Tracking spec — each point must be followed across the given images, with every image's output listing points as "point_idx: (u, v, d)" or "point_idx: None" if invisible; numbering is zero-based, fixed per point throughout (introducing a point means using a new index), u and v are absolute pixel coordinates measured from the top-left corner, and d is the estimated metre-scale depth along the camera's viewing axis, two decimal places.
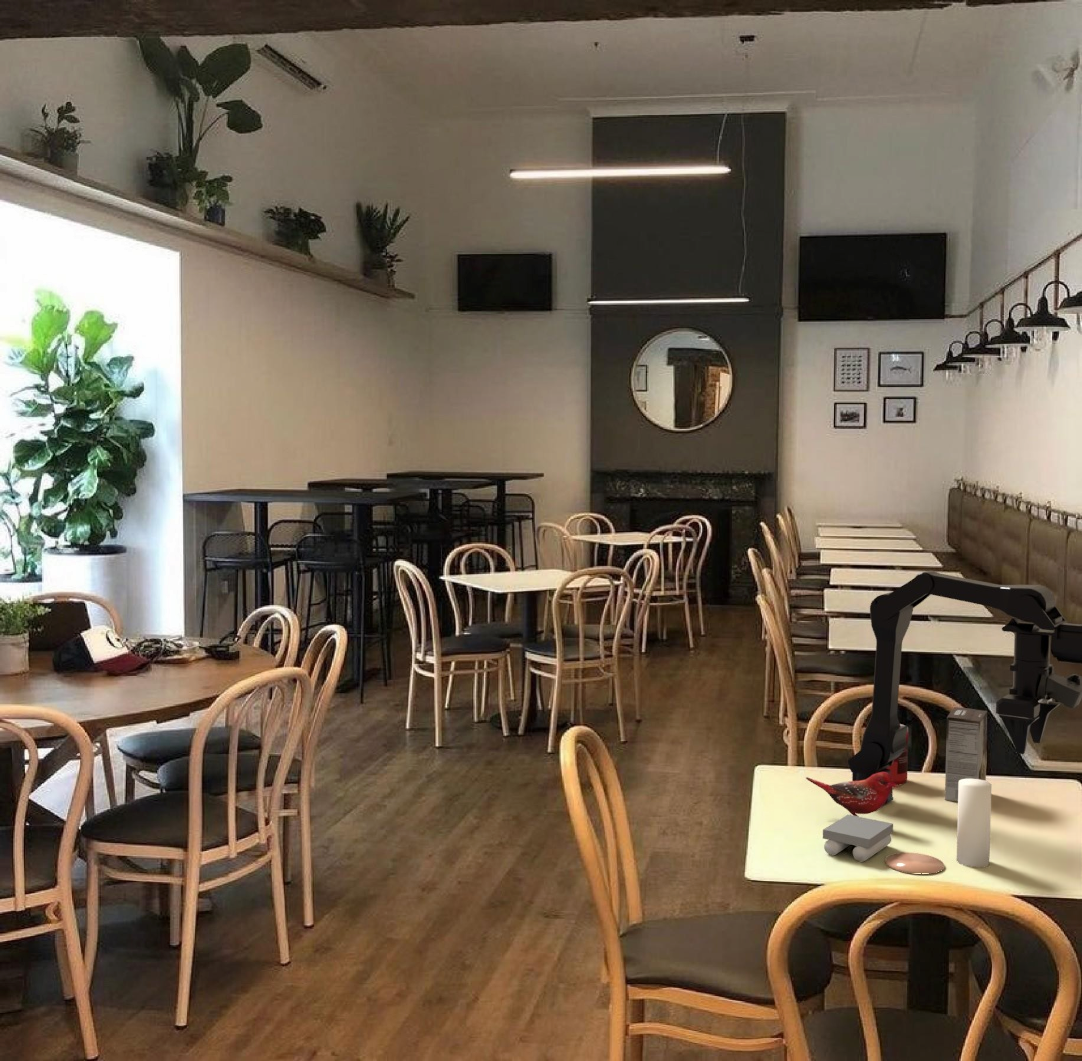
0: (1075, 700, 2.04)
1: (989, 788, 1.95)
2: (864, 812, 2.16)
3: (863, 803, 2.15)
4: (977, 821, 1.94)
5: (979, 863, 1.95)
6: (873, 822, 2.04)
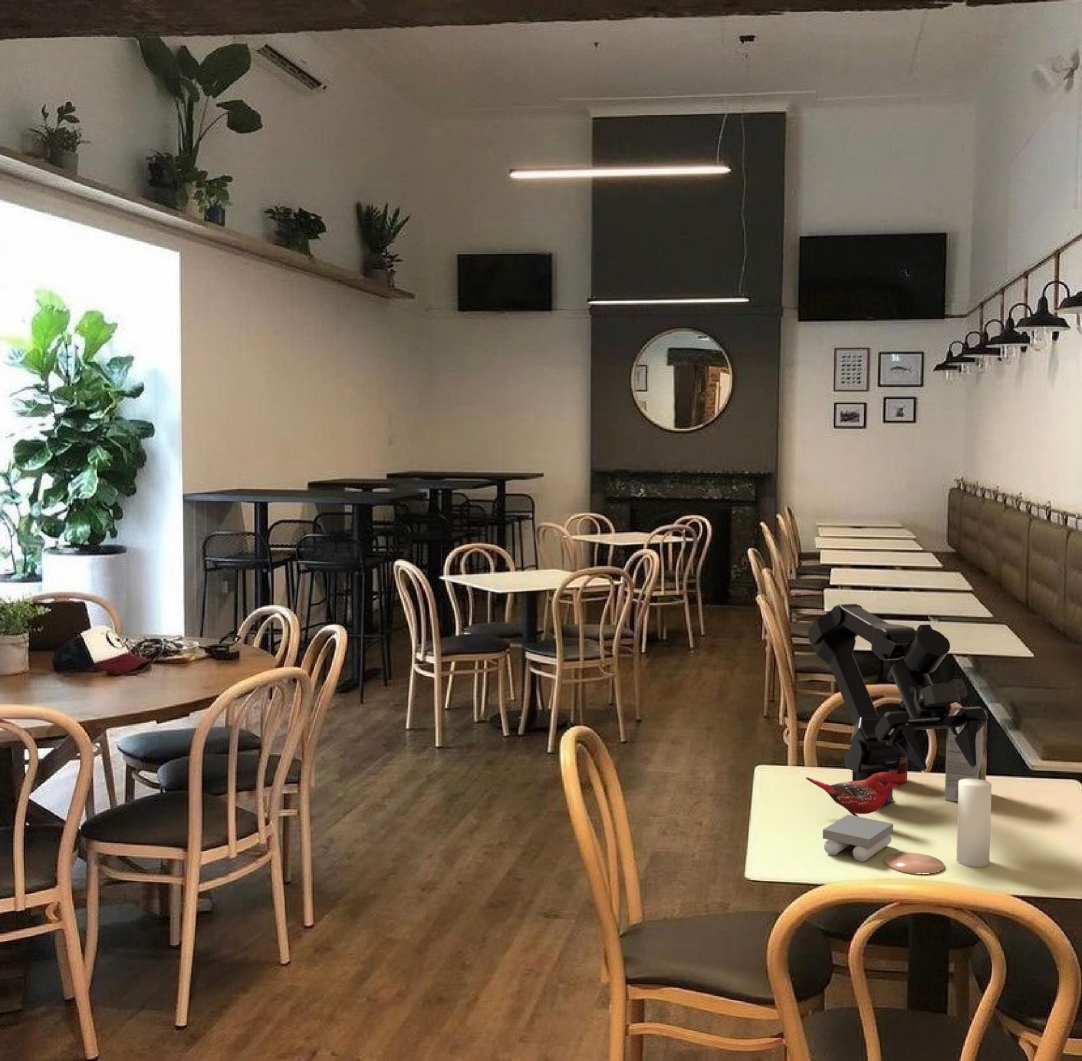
0: (936, 693, 2.03)
1: (989, 788, 1.95)
2: (864, 812, 2.16)
3: (863, 803, 2.15)
4: (977, 821, 1.94)
5: (979, 863, 1.95)
6: (873, 822, 2.04)
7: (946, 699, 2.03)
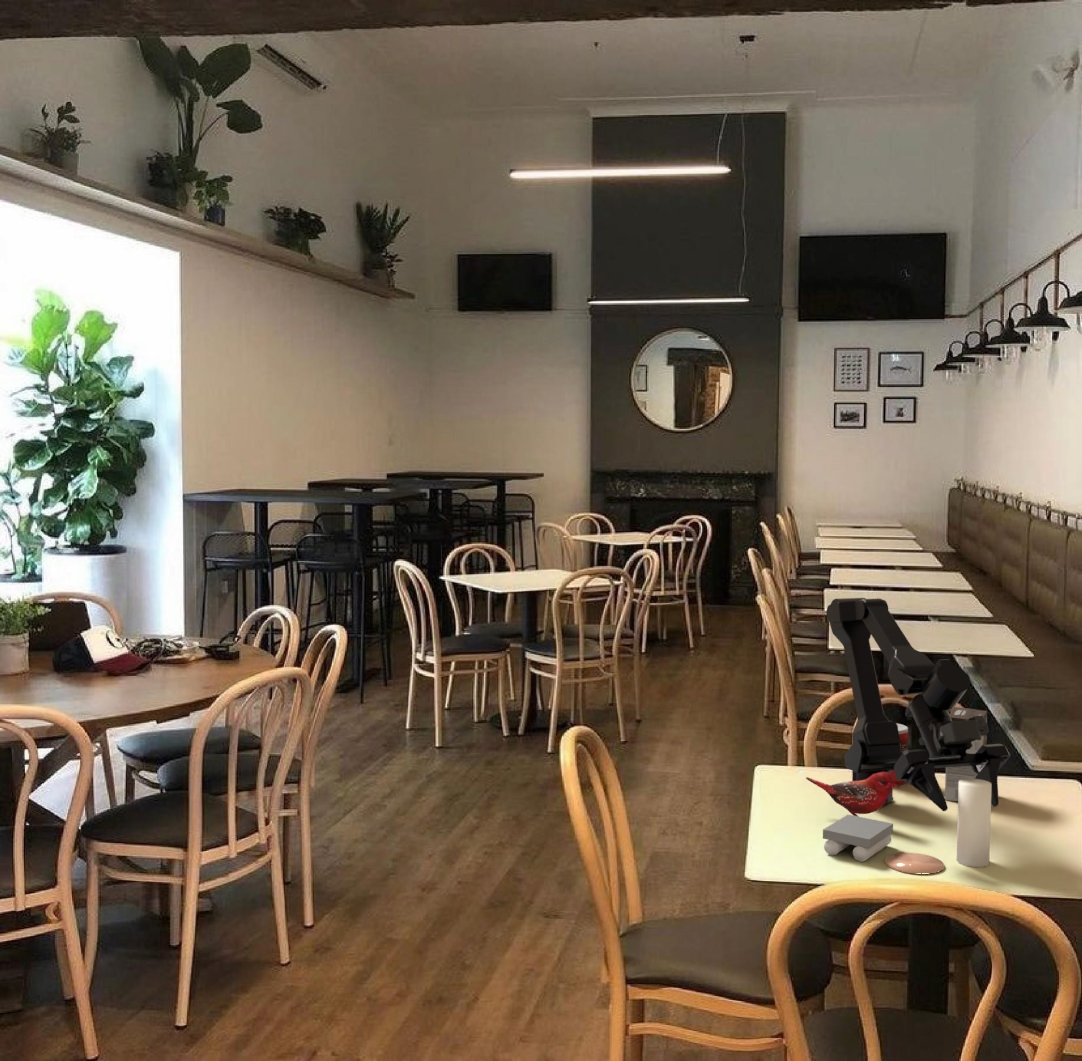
0: (957, 731, 1.97)
1: (989, 788, 1.95)
2: (864, 812, 2.16)
3: (863, 803, 2.15)
4: (977, 821, 1.94)
5: (979, 863, 1.95)
6: (873, 822, 2.04)
7: (967, 737, 1.97)
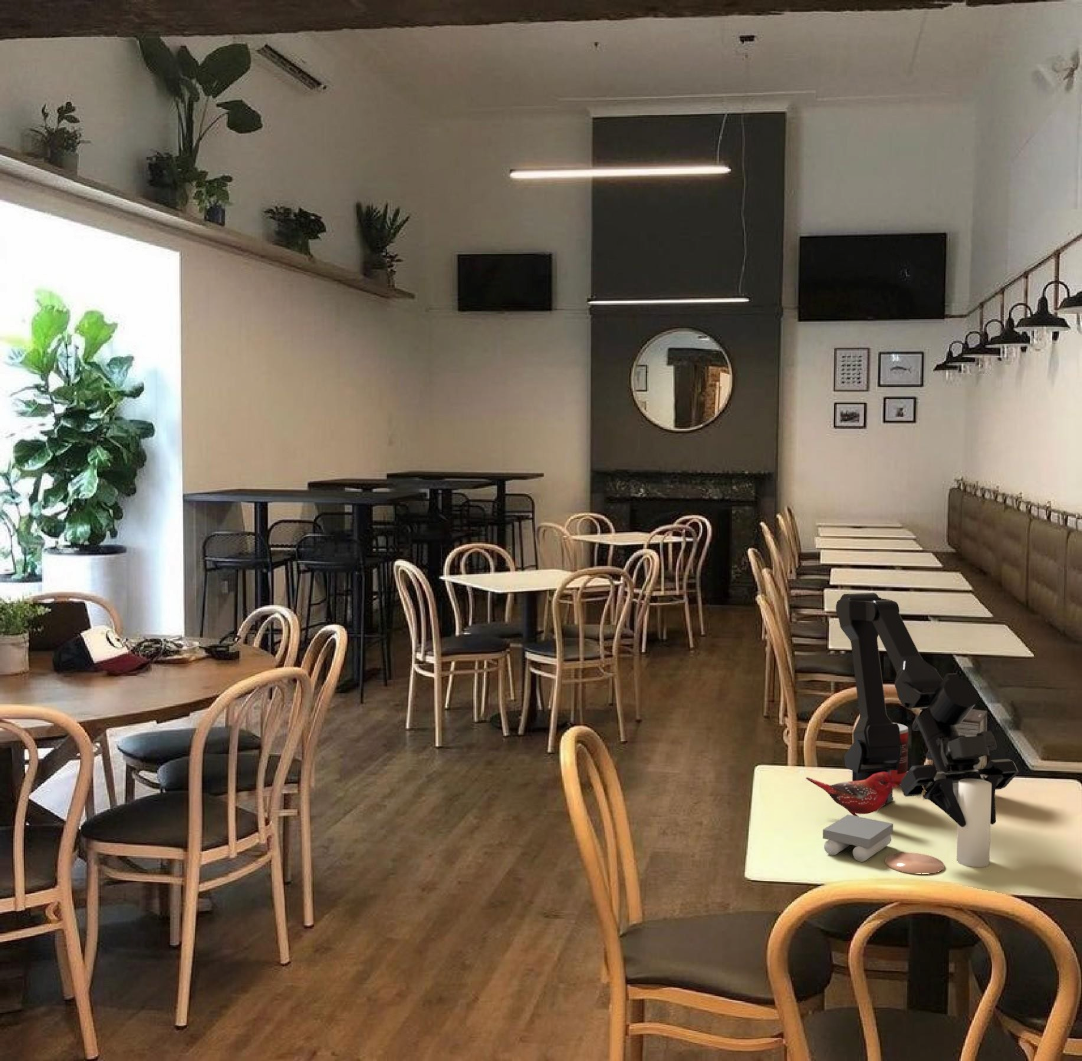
0: (965, 747, 1.95)
1: (989, 788, 1.95)
2: (864, 812, 2.16)
3: (863, 803, 2.15)
4: (978, 821, 1.94)
5: (979, 863, 1.95)
6: (873, 822, 2.04)
7: (975, 753, 1.95)
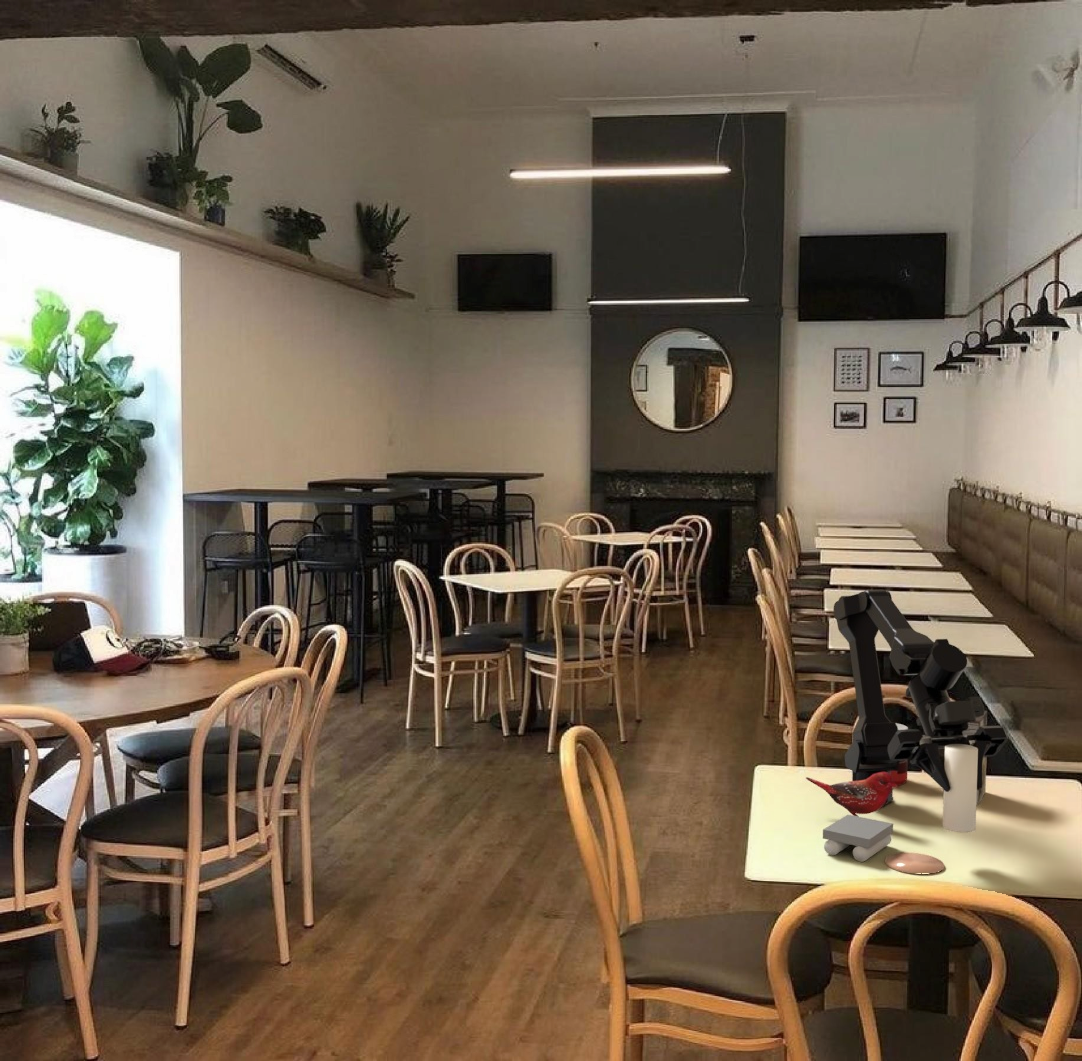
0: (950, 711, 1.94)
1: (975, 753, 1.93)
2: (864, 812, 2.16)
3: (863, 803, 2.15)
4: (962, 786, 1.93)
5: (964, 828, 1.94)
6: (873, 822, 2.04)
7: (960, 718, 1.94)
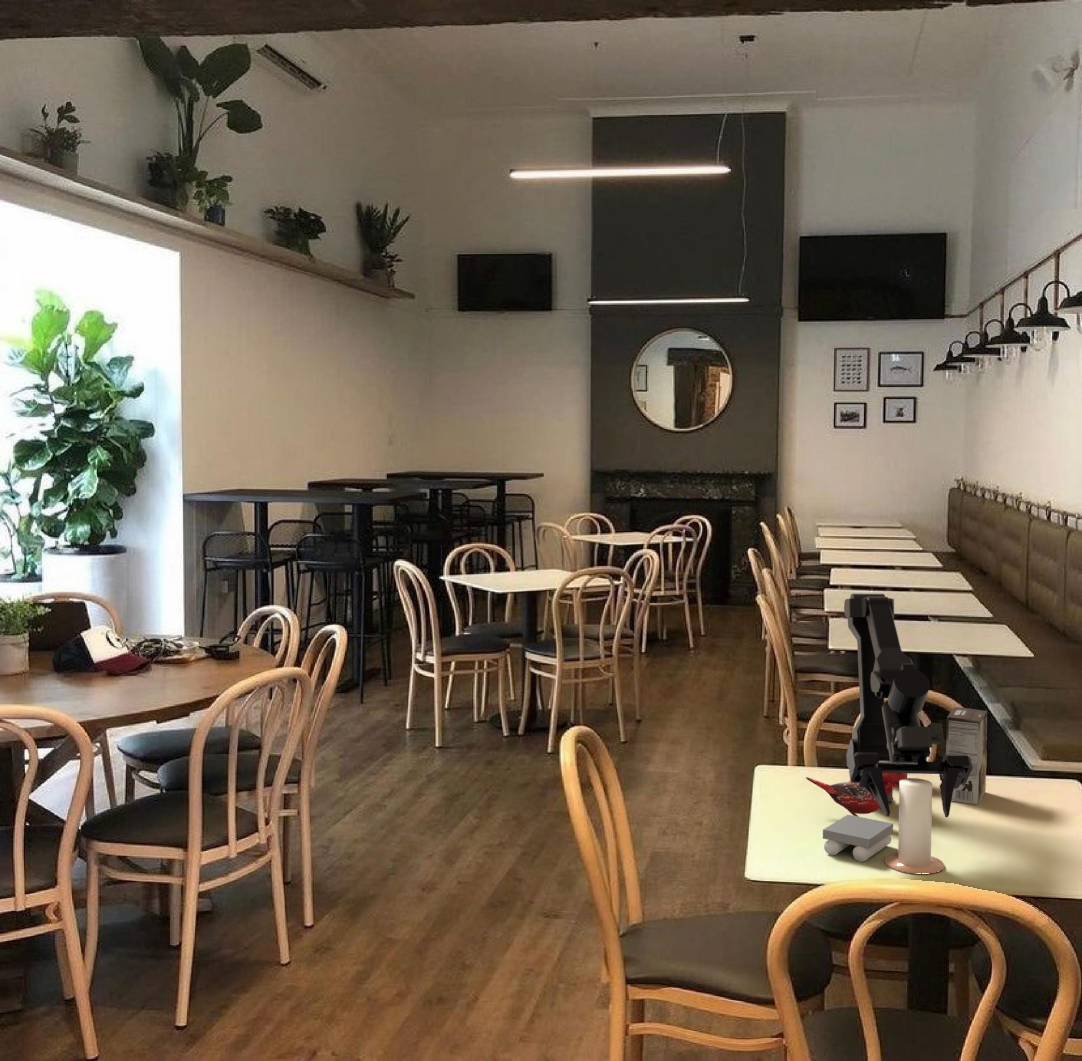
0: (904, 736, 1.95)
1: (926, 788, 1.93)
2: (864, 812, 2.16)
3: (863, 803, 2.15)
4: (913, 820, 1.93)
5: (915, 863, 1.94)
6: (873, 822, 2.04)
7: (915, 743, 1.94)
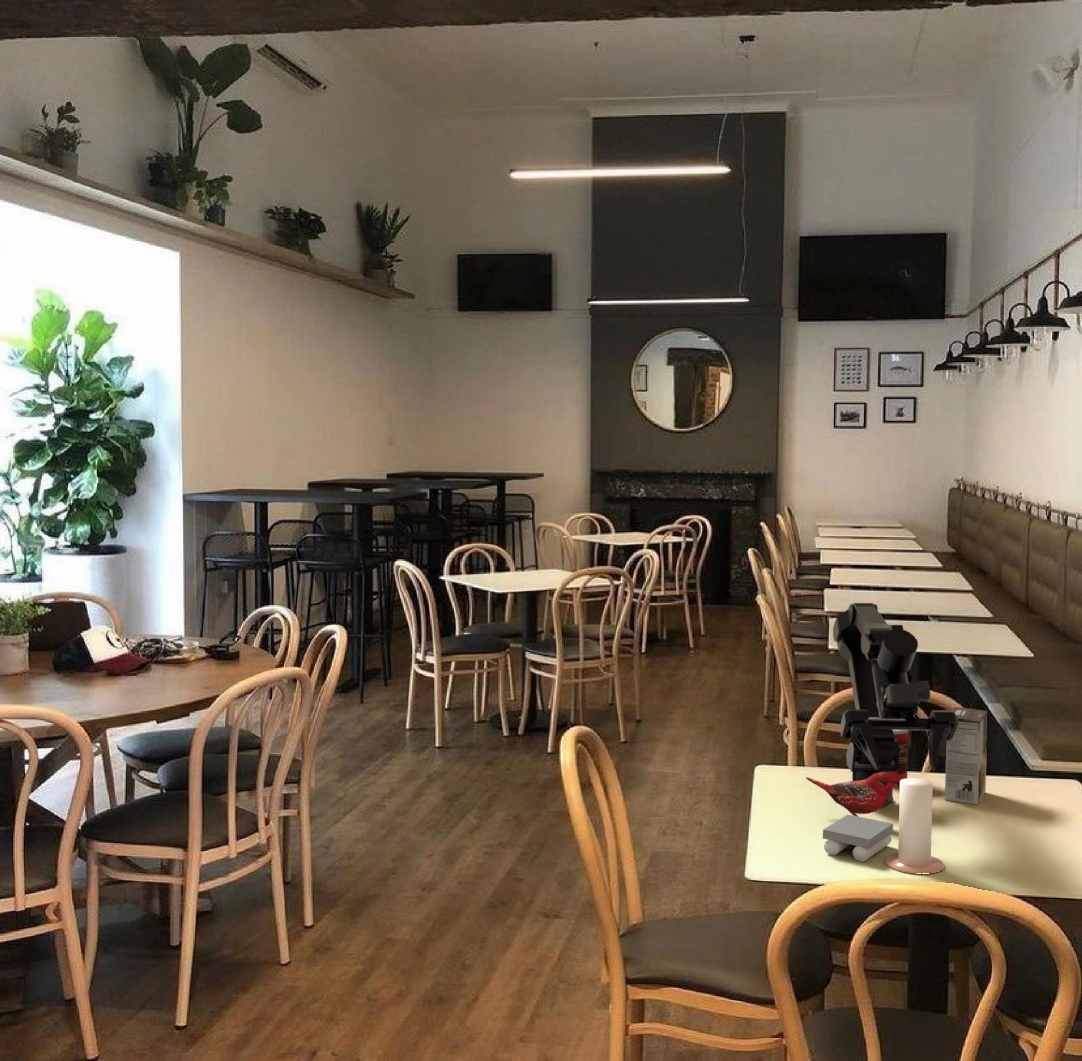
0: (893, 693, 2.03)
1: (927, 788, 1.93)
2: (864, 812, 2.16)
3: (863, 803, 2.15)
4: (913, 820, 1.93)
5: (915, 863, 1.94)
6: (873, 822, 2.04)
7: (903, 700, 2.02)
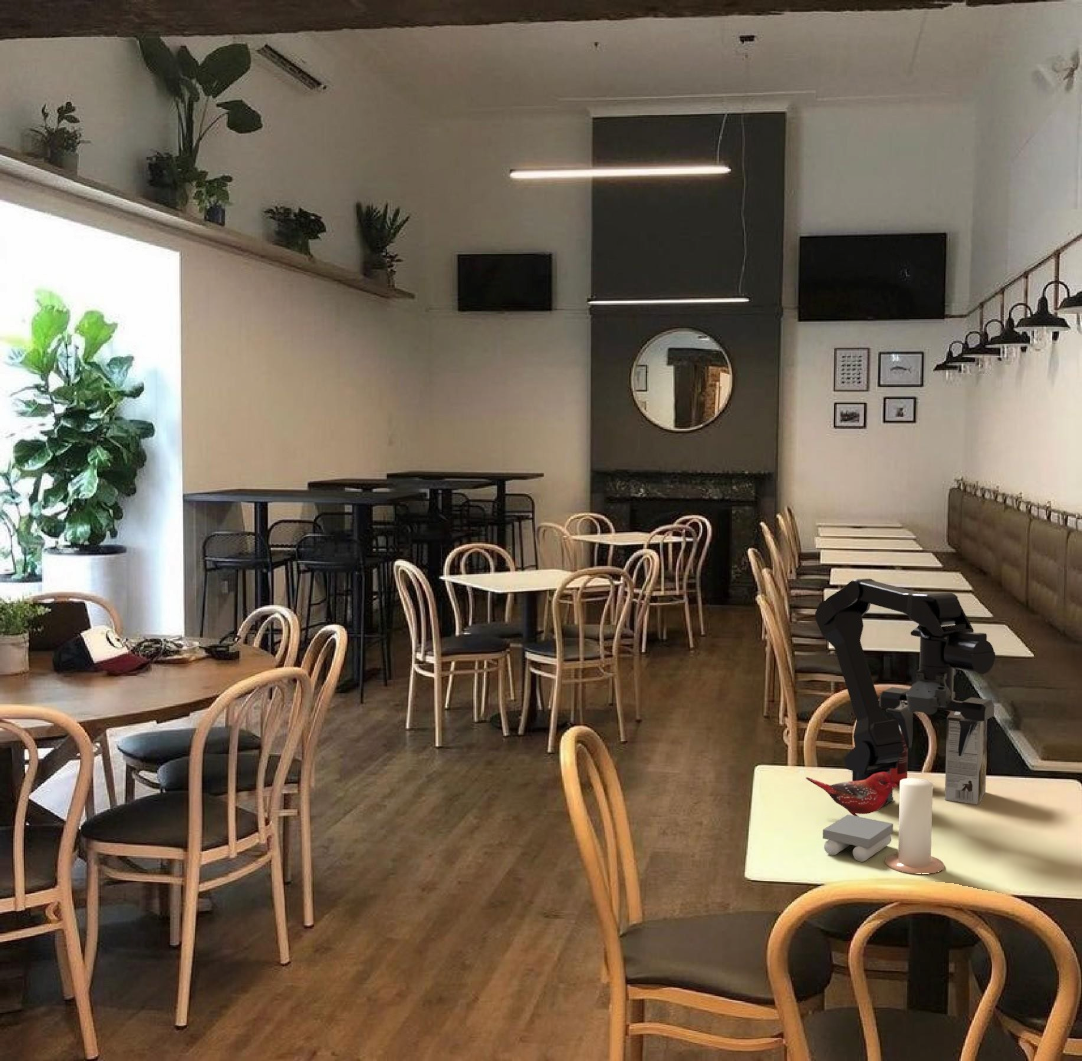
0: (908, 703, 2.10)
1: (927, 788, 1.93)
2: (864, 812, 2.16)
3: (863, 803, 2.15)
4: (913, 820, 1.93)
5: (915, 863, 1.94)
6: (873, 822, 2.04)
7: (917, 711, 2.09)
